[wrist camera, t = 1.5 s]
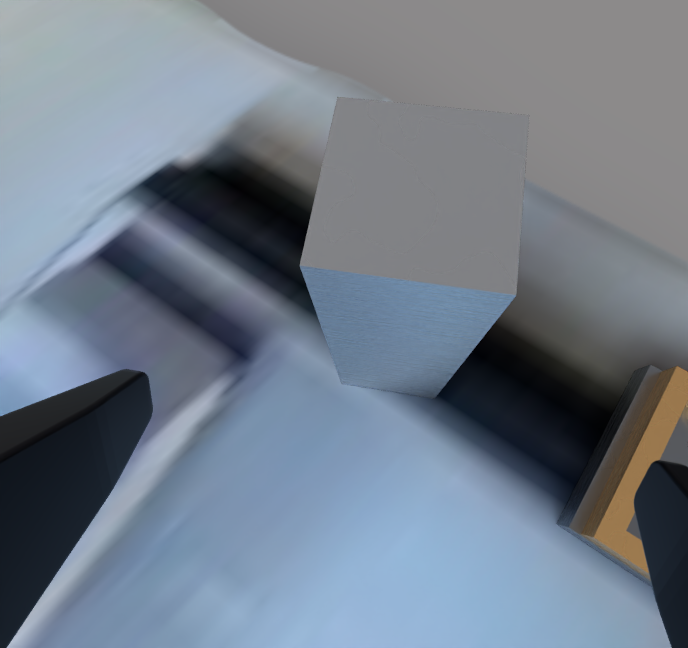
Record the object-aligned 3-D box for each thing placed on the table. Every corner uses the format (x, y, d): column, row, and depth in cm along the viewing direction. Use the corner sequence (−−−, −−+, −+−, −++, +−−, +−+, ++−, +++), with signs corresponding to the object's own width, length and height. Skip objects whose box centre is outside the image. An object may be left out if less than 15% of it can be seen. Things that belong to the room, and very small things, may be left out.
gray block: (436, 399, 20) (521, 296, 8) (341, 383, 20) (299, 265, 9) (446, 311, 21) (534, 115, 10) (357, 298, 21) (337, 96, 10)
